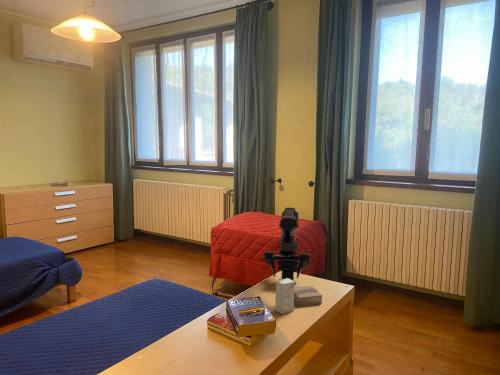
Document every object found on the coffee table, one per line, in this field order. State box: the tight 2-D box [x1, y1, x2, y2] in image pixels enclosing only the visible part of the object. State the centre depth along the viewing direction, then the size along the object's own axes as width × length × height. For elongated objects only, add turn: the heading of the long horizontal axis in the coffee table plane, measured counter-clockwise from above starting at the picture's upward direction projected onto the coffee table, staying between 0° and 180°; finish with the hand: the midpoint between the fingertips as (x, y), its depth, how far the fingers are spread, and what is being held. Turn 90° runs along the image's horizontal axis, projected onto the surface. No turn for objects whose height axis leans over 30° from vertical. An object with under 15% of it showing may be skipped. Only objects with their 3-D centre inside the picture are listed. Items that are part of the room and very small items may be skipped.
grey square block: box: [294, 285, 323, 307], centre depth 159 cm, size 10×10×4 cm
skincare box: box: [274, 278, 296, 315], centre depth 149 cm, size 6×4×12 cm
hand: (285, 277), depth 153 cm, fingers open, 9 cm apart
